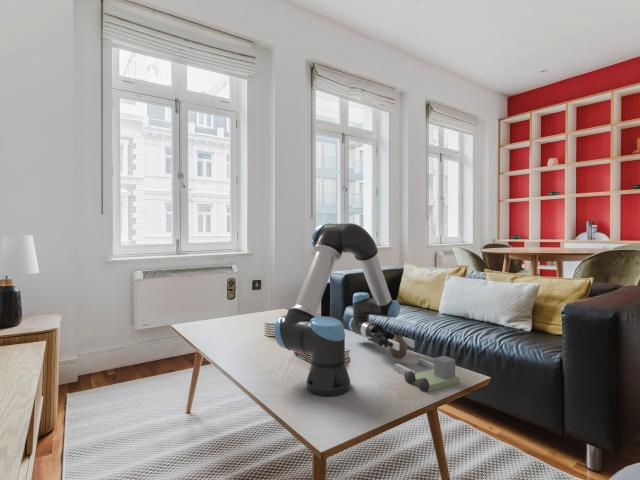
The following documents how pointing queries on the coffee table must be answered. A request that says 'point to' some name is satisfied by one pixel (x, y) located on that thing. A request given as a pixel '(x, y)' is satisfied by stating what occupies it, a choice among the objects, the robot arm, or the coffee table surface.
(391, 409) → the coffee table surface
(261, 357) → the coffee table surface
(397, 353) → the vase
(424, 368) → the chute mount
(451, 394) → the coffee table surface
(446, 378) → the toy truck
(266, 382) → the coffee table surface
